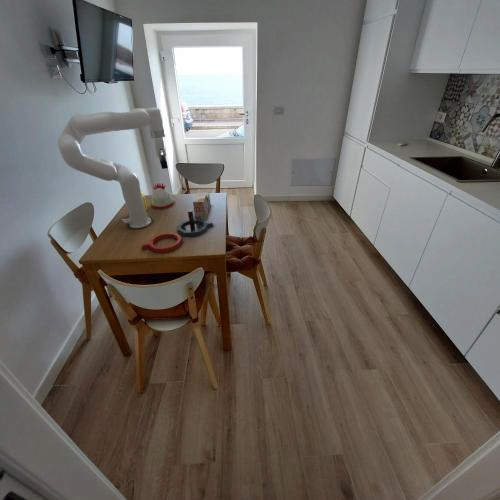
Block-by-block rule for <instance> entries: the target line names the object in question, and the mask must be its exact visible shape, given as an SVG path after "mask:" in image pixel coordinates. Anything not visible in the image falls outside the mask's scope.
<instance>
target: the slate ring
mask: <svg viewBox="0 0 500 500" xmlns="http://www.w3.org/2000/svg"><path fill="white" fill-rule="evenodd" d="M197 223H198V224H199V226H202V227H200V228H201V229H199V230H197V231H186V230H184V228H185V226H186V225H190V223H189V219H187V220H184V221H182V222H180V223H179V224H178V226H177V231H178V235H180V236H183V237H189V238H192V237H197V236H202V235H203V234H205V233H206V231H207V230H208V228H212V227H214V225H213V224H214V223H213V221H207V222H206V220H199V219H195V218H194V224H197Z"/></svg>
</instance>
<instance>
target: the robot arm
mask: <svg viewBox="0 0 500 500" xmlns="http://www.w3.org/2000/svg"><path fill="white" fill-rule="evenodd" d="M146 127H148V130H149V135H150V138H152V139H153V146H154V150H155V155H156V157H157V158H158V159H159V163H160V167H161V169H162V170H166V169H168V167H169V166H168V161H167V151H166V144H165V138H166V131H165V126H164V121H163V115H162V110H161V109H160V108H159V107H153V106H152V107H147V108H141V107H140V108H139V107H135V108H132V109H131V110H130V111H124V112H114V111H101V112H94V113H87V114H82V113H75V114H73V115H72V116H71V117H70V119H69V120H68V121H67V124H66V125H65V127H64V128H63V130H62V132H61V133H60V134H59V137H58V139H57V146H58V149H59V152H60V155H61V158H62V159H63V161H64V162H65V163H66V165H67V166H68V167H70V168H72V169H73V170H75V171H78V172H80V173H84V174H87V175H89V176H92V177H93V178H94V177H95V178H98V179H100V180H103V181H106V182H112V181H114V182H117V183H119V186H120V189H121V193H122V196H123V200H124V203H125V206H126V210H127V213H128V216H129V217H127V218H122V219H121V222H122V223H124V224H128V226H129V227H130V228H132V229H142V228H145V227H149V225H151V224H152V219H151V218H150V217H148V214H147V211H146V209H145V205H144V201H143V198H142V194H143V193H142V191H141V183H140V179H139V176H137V174H136V173H135V172H134V171H133V170H132V169H131V168H129V167H128V166H125V165H124V164H123V165H122V164H120V163H118V162H115V161H113V160H110V159H107V158H99V159H98V158H95V157H92V156H90V155H87V154H84V153H83V152H82V148H81V143H82V142H83V141H84V139H85V138H86V136H91V135H97V134H104V133H110V132H119V131H129V130H130V131H131V130H137V129H141V128H146Z"/></svg>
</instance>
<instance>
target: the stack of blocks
mask: <svg viewBox="0 0 500 500" xmlns="http://www.w3.org/2000/svg"><path fill="white" fill-rule="evenodd" d="M192 205H193V214H194V219H199V220H203V221H207V217H208V215H209V211H210V209H211V197H210V192H199V193H196V194H195V197H194V198H193V200H192Z"/></svg>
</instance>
